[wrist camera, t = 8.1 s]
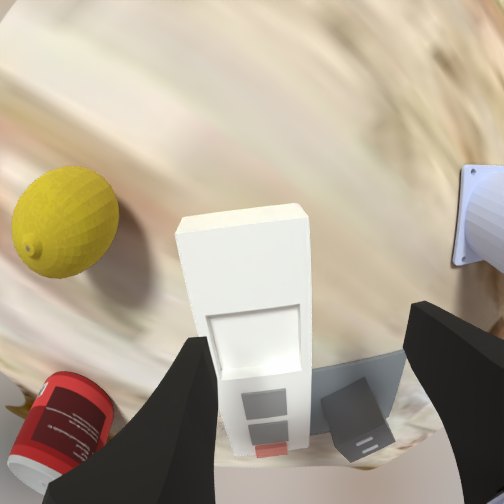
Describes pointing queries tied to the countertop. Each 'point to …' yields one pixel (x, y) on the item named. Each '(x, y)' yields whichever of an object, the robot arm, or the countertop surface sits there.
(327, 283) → the countertop surface
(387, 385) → the mat
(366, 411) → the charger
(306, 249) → the strip
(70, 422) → the canned food
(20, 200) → the lemon
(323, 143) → the countertop surface
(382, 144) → the countertop surface
